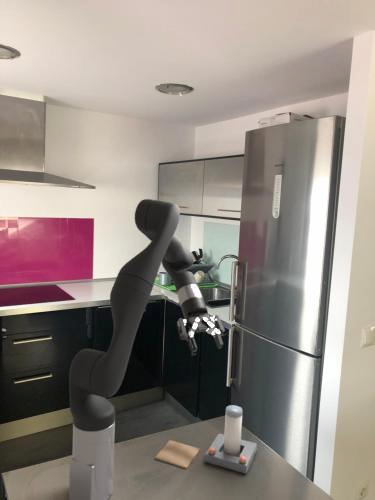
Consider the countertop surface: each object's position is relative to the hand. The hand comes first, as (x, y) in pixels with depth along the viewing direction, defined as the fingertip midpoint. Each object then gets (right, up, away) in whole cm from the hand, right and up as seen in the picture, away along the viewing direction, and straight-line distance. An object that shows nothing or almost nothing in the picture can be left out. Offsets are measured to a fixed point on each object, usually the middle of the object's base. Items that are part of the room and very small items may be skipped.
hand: (208, 349), depth 119 cm
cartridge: (+6, -26, -11) cm, 28 cm away
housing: (+6, -26, -11) cm, 29 cm away
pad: (-9, -26, -11) cm, 29 cm away
